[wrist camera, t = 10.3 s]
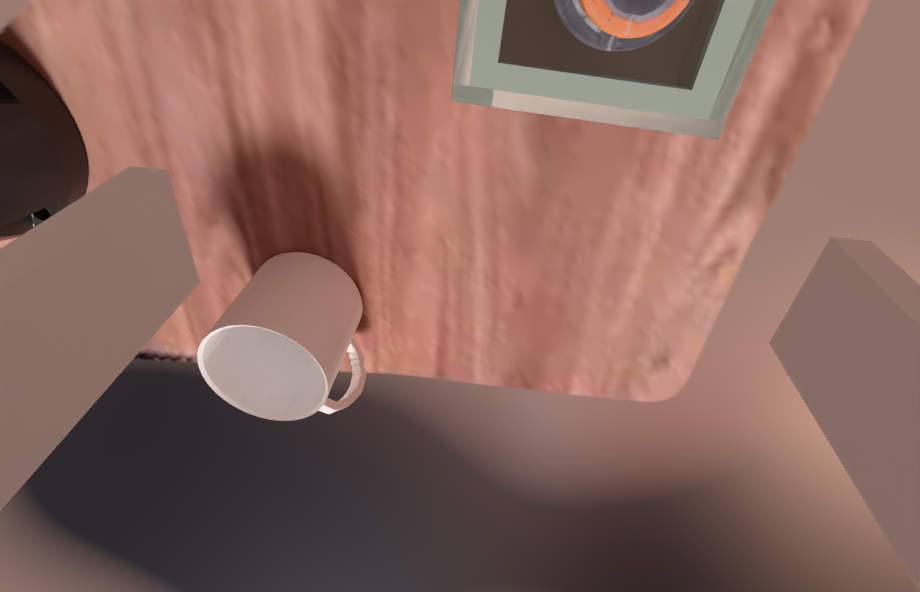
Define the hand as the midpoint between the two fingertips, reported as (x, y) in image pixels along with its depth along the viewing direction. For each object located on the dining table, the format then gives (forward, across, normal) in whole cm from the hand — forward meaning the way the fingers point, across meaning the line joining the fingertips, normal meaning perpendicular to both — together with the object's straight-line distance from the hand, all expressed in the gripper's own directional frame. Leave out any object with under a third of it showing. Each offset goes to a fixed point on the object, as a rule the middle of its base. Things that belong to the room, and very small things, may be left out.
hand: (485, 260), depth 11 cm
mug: (+24, -13, -22) cm, 35 cm away
